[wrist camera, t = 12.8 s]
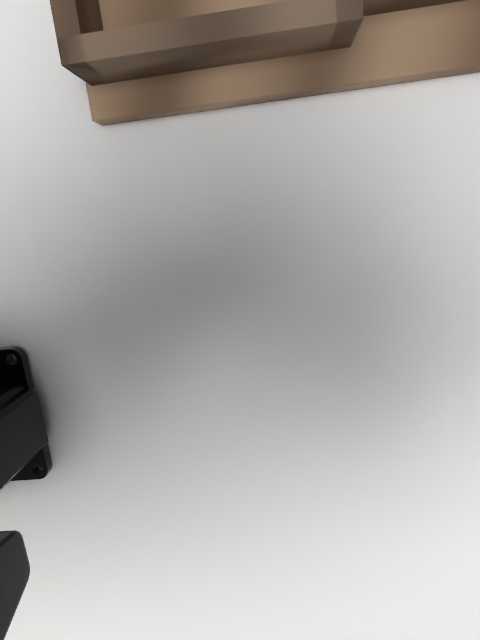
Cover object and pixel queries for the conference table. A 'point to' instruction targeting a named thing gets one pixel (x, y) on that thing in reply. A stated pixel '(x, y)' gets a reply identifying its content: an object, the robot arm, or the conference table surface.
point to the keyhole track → (255, 49)
